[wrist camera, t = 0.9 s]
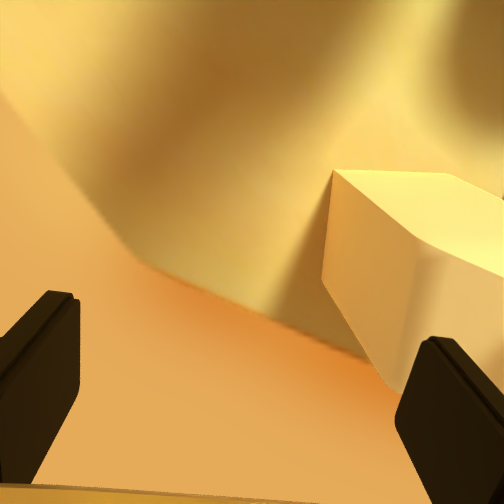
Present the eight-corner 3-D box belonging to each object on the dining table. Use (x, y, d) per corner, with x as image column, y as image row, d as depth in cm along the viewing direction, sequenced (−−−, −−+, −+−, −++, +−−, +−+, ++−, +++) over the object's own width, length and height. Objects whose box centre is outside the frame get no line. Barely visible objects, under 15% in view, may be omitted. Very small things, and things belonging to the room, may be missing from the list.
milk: (333, 169, 40) (486, 286, 15) (447, 173, 40) (770, 292, 16) (321, 280, 44) (425, 507, 20) (424, 282, 44) (649, 506, 20)
